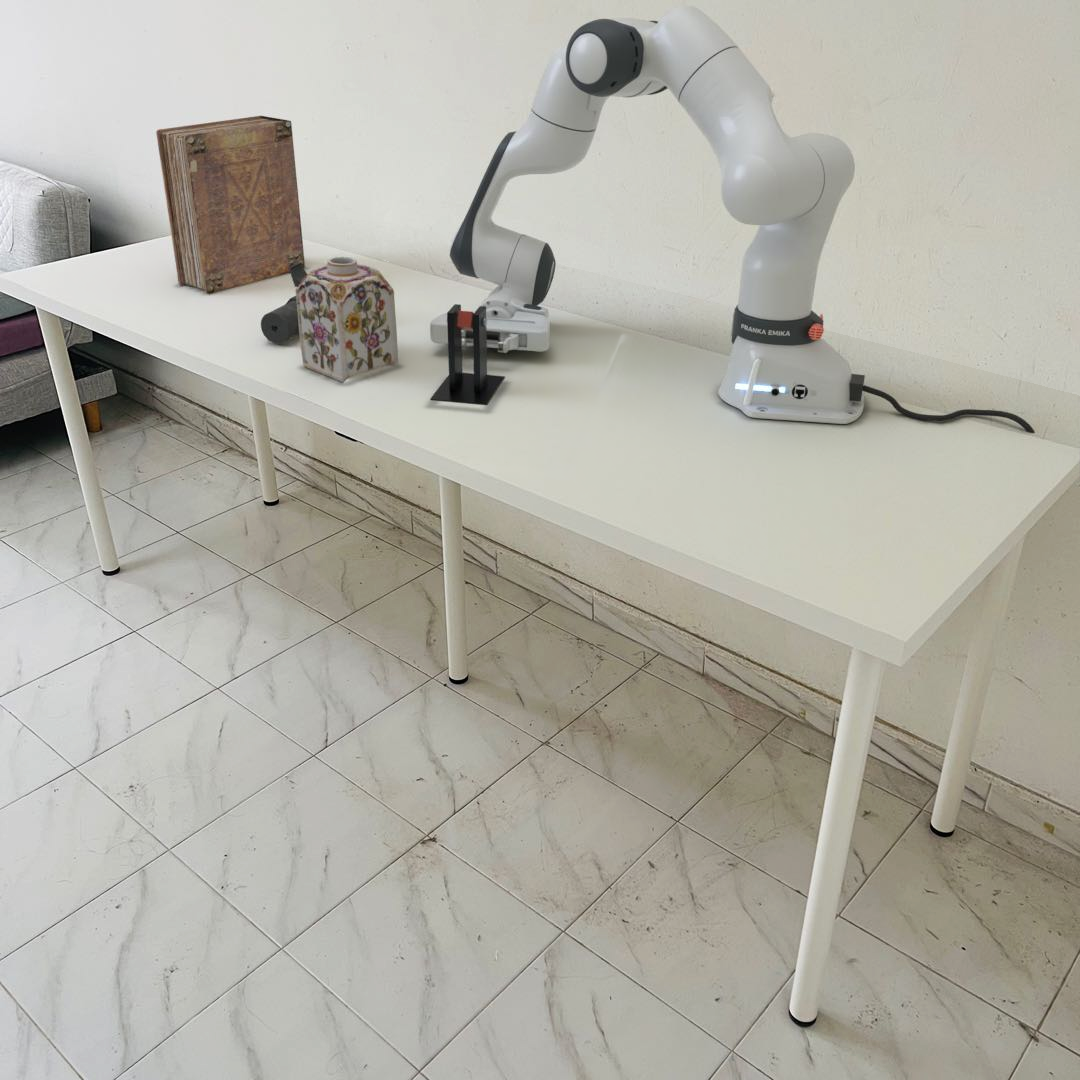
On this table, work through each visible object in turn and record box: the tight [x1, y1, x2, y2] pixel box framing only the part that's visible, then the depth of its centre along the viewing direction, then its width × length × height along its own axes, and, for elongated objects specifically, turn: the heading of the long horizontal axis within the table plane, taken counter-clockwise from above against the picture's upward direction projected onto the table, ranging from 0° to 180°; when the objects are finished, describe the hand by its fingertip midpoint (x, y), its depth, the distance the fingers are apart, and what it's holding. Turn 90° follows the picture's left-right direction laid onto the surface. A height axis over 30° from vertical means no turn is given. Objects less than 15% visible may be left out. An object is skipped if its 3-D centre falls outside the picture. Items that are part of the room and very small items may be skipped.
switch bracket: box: [429, 303, 506, 406], centre depth 169 cm, size 12×9×14 cm
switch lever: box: [457, 310, 500, 341], centre depth 172 cm, size 13×6×2 cm
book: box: [155, 115, 306, 295], centre depth 220 cm, size 25×9×30 cm, turn 140°
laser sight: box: [260, 262, 308, 345], centre depth 198 cm, size 10×22×10 cm, turn 158°
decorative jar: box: [295, 256, 399, 383], centre depth 178 cm, size 12×12×18 cm
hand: (481, 346), depth 177 cm, fingers closed on switch lever, 6 cm apart
